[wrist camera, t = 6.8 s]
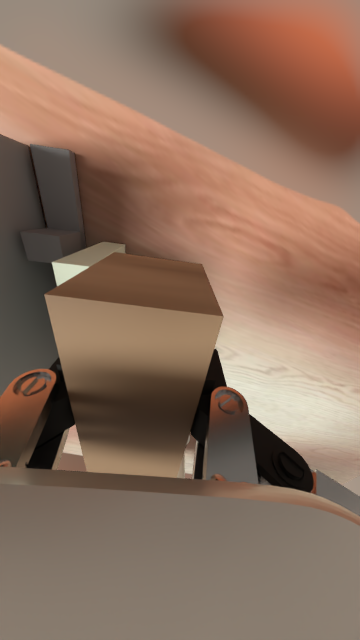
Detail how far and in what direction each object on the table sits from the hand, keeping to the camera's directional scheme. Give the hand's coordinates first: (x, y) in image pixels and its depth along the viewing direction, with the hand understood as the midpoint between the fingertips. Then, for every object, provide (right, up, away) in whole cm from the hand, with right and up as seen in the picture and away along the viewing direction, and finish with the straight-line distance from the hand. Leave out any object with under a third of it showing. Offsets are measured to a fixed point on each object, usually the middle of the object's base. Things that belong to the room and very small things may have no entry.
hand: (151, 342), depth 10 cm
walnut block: (0, 0, 0) cm, 0 cm away
